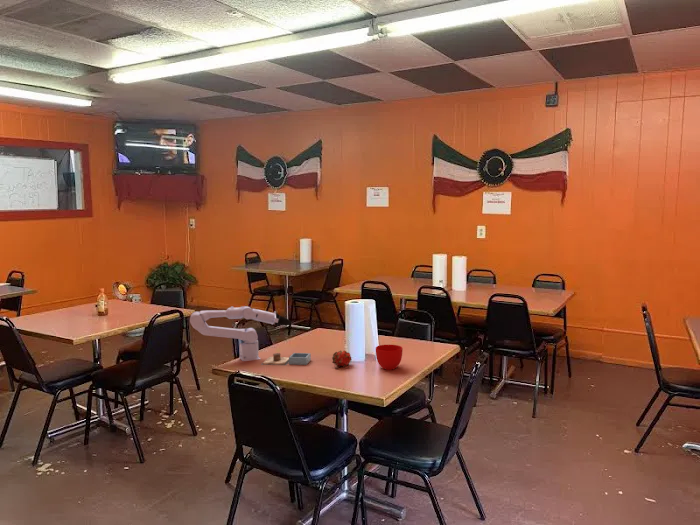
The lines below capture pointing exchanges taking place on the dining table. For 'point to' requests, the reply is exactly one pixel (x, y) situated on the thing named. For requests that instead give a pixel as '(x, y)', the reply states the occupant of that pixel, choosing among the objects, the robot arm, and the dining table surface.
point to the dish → (300, 358)
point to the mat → (273, 364)
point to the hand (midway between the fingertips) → (289, 322)
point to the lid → (276, 360)
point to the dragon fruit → (341, 358)
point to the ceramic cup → (389, 356)
